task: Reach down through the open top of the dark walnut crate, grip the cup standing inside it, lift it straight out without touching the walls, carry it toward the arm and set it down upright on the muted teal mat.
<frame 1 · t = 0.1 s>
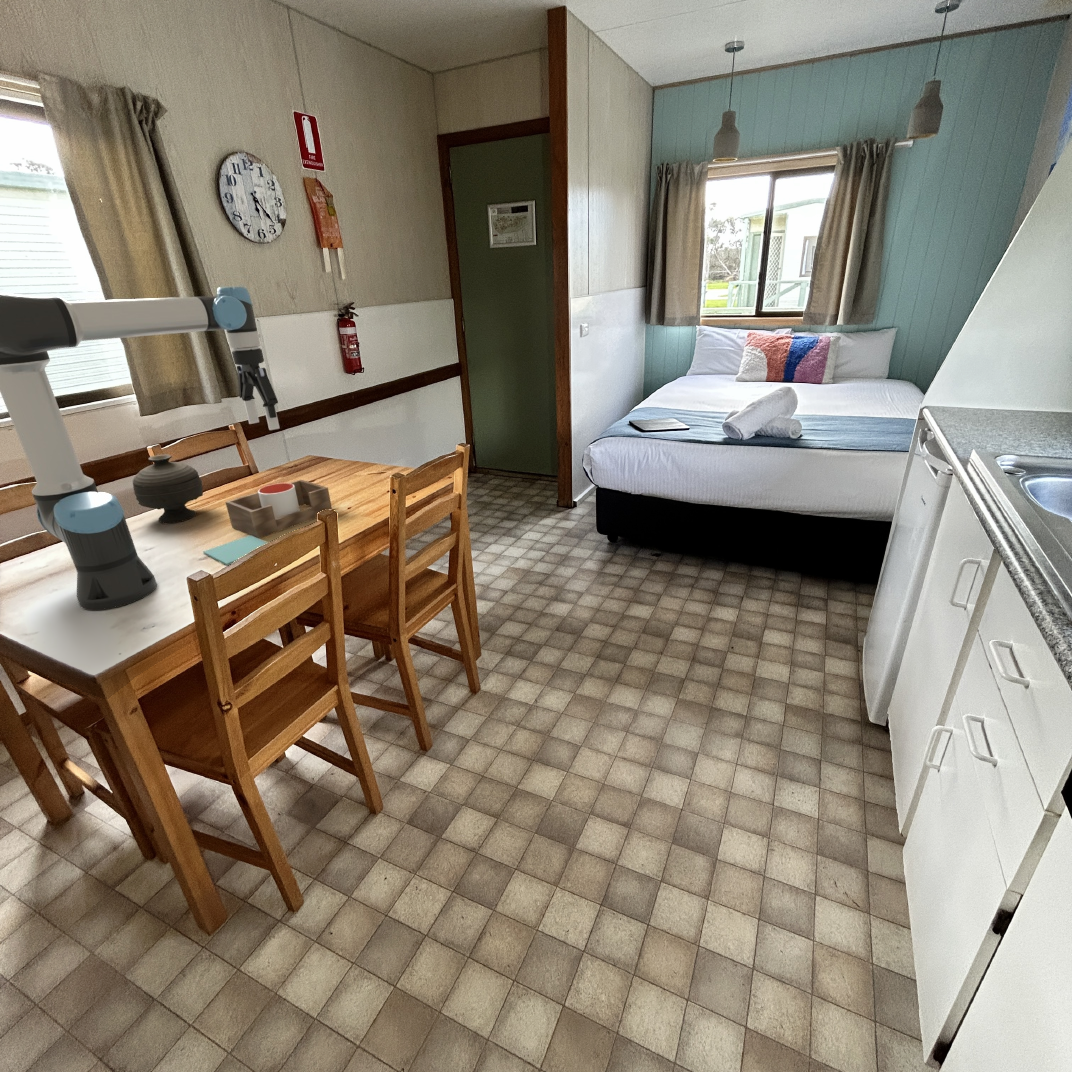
hand: (264, 426, 167), 28 cm above the table, fingers open, 13 cm apart
mat: (239, 550, 156), on the table
cup: (283, 520, 176), resting in crate
pot: (178, 517, 182), on the table
crate: (283, 519, 176), on the table
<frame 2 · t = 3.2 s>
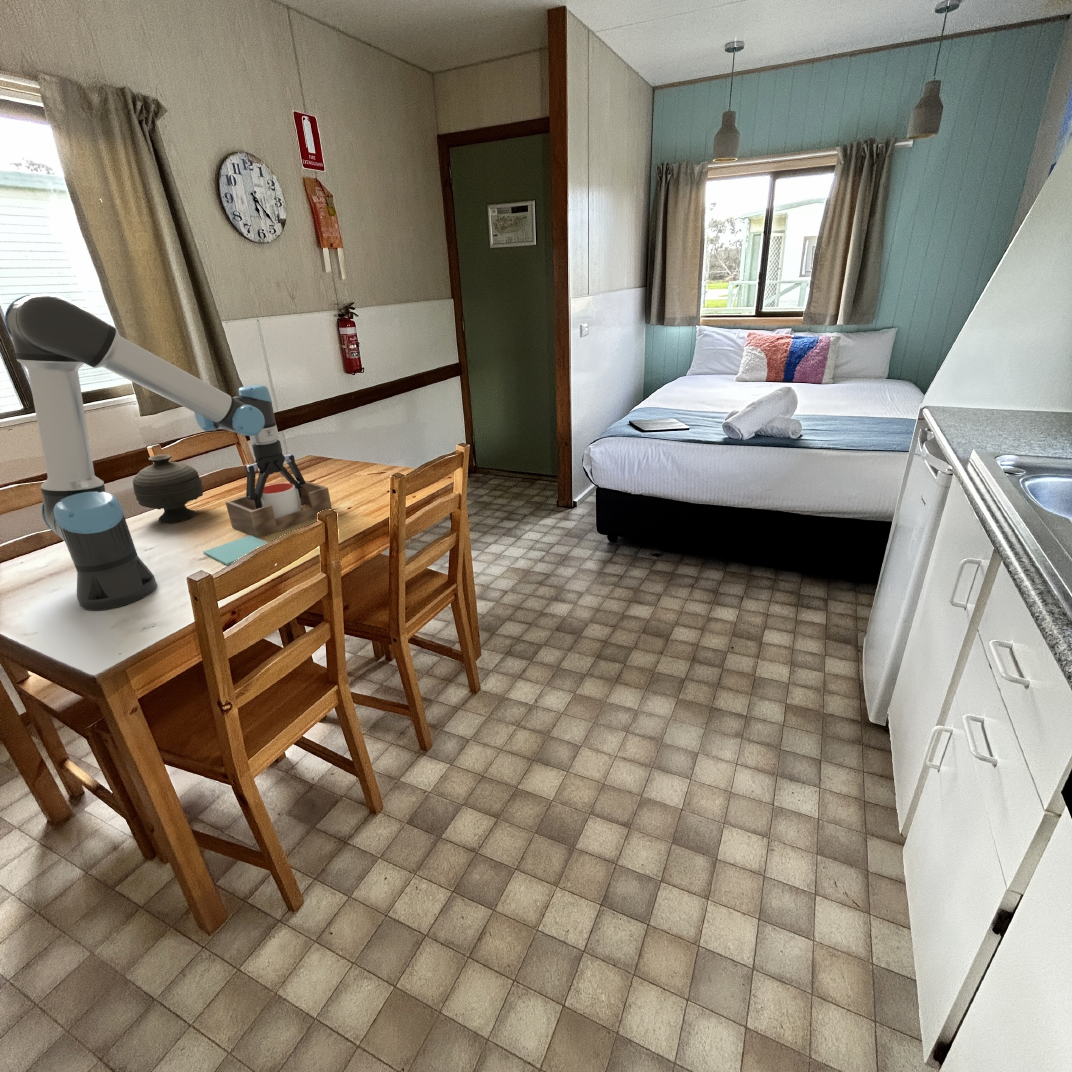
hand: (282, 514, 175), 2 cm above the table, fingers closed on cup, 10 cm apart
cup: (283, 520, 176), resting in crate, touching gripper
everything else where it was.
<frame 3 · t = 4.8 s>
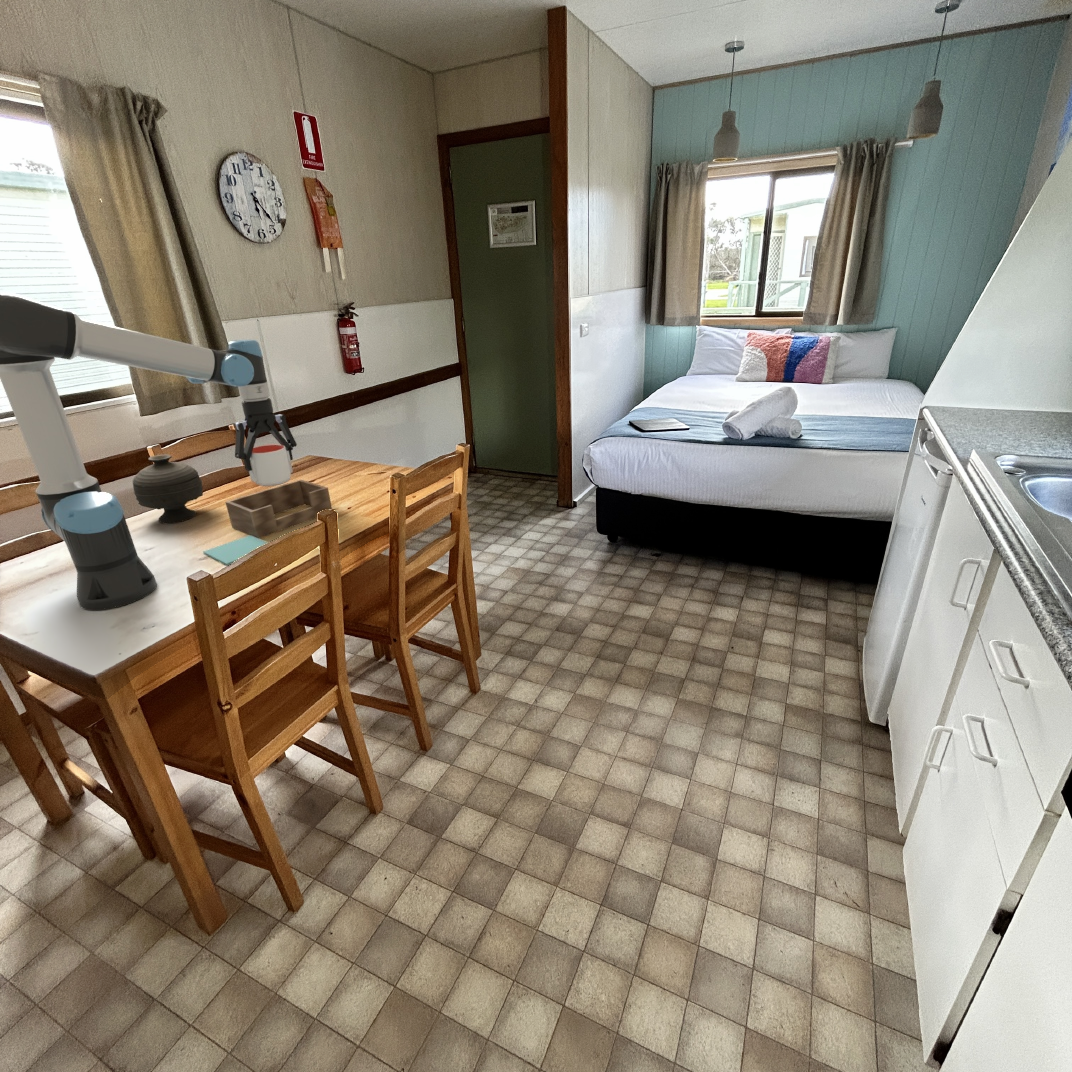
hand: (272, 476, 170), 14 cm above the table, fingers closed on cup, 10 cm apart
cup: (273, 482, 171), point 12 cm above the table, touching gripper
everything else where it was.
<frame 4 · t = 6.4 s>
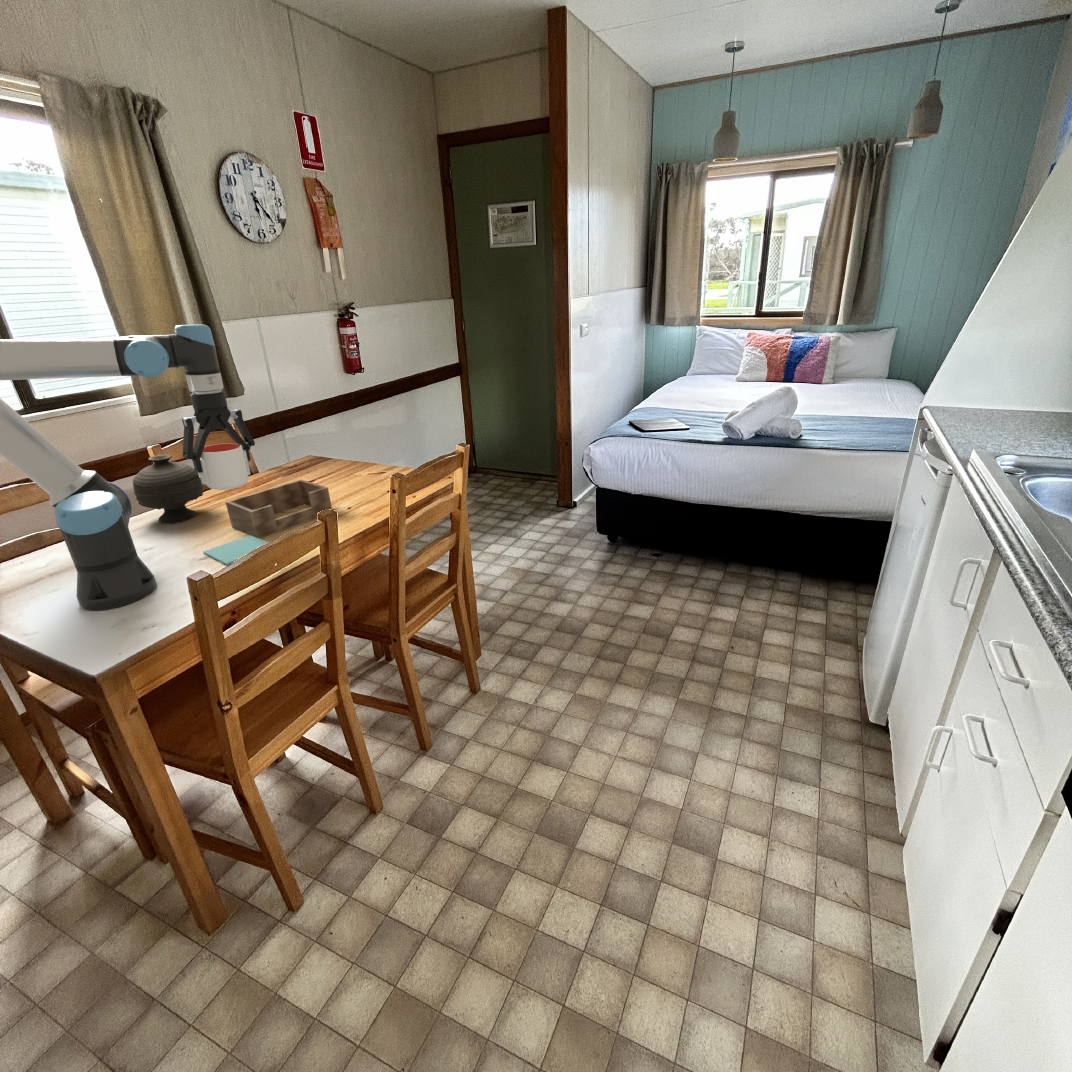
hand: (226, 478, 151), 19 cm above the table, fingers closed on cup, 10 cm apart
cup: (228, 486, 152), point 17 cm above the table, touching gripper
everything else where it was.
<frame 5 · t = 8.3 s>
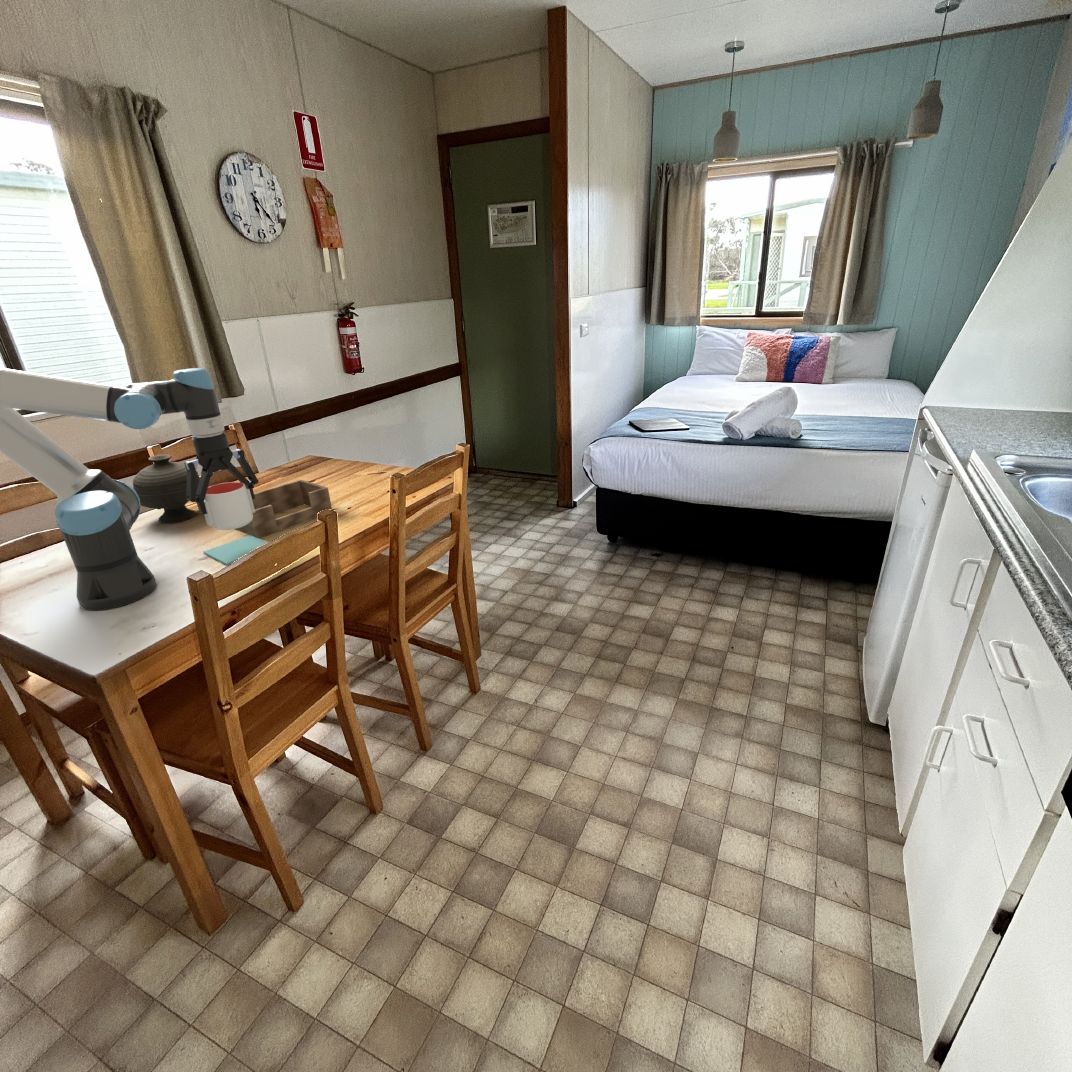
hand: (231, 518, 152), 9 cm above the table, fingers closed on cup, 10 cm apart
cup: (233, 525, 153), point 7 cm above the table, touching gripper
everything else where it was.
when the fingers open (4 cm above the table, at t = 9.7 s): cup drops 1 cm, resting on mat.
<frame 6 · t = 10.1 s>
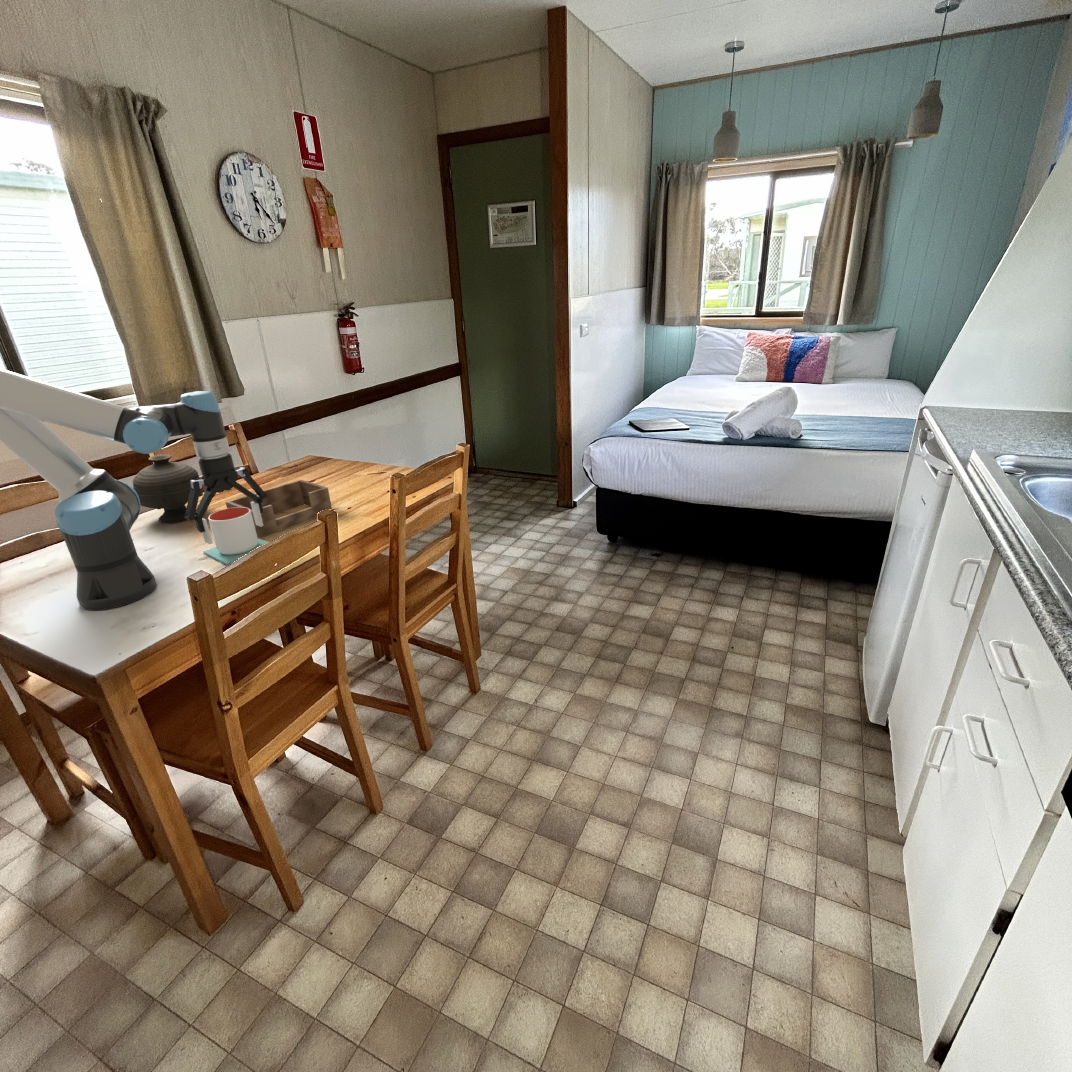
hand: (235, 533, 154), 5 cm above the table, fingers open, 13 cm apart
cup: (239, 549, 156), resting on mat
everything else where it was.
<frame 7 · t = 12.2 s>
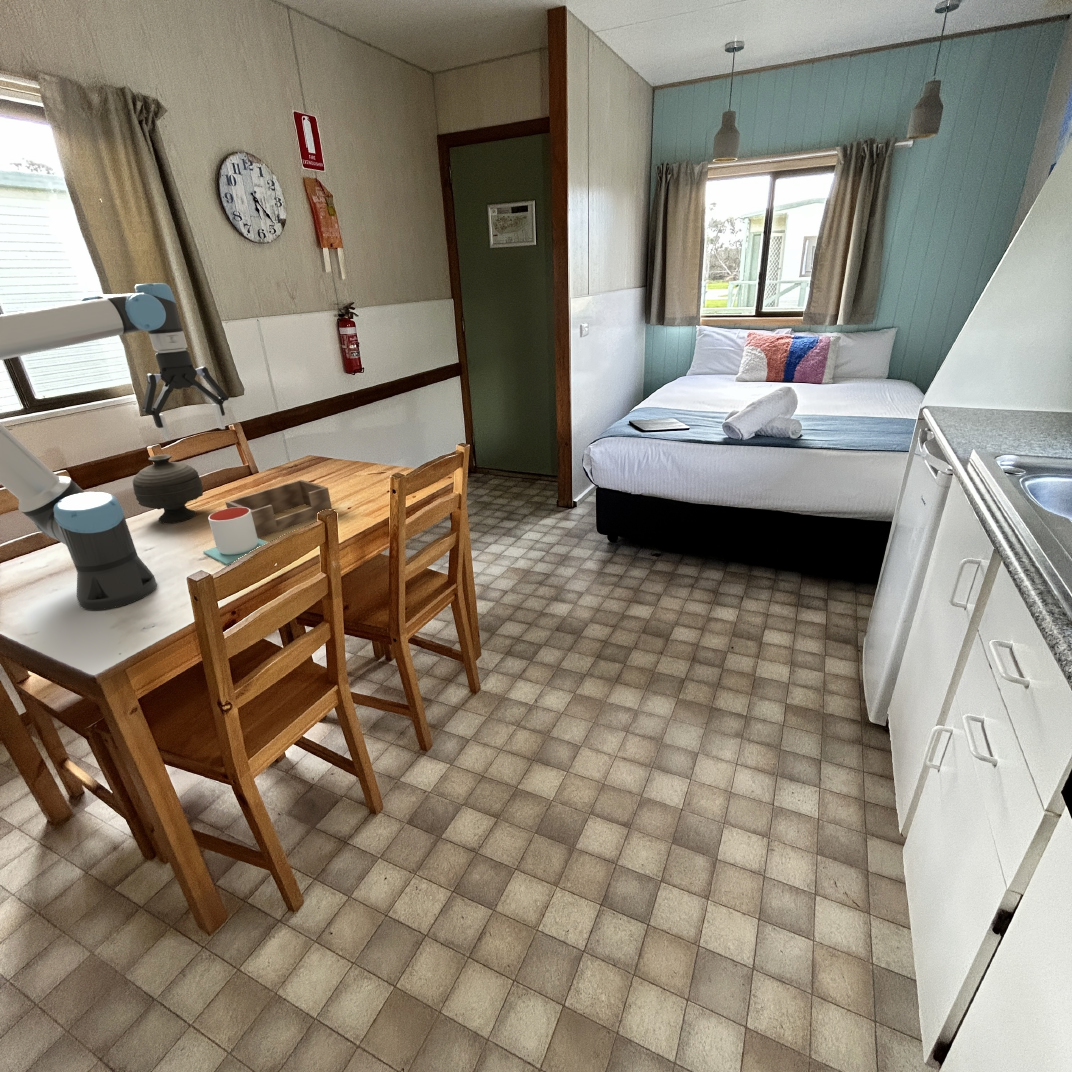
hand: (195, 434, 155), 29 cm above the table, fingers open, 13 cm apart
nothing on the table moved.
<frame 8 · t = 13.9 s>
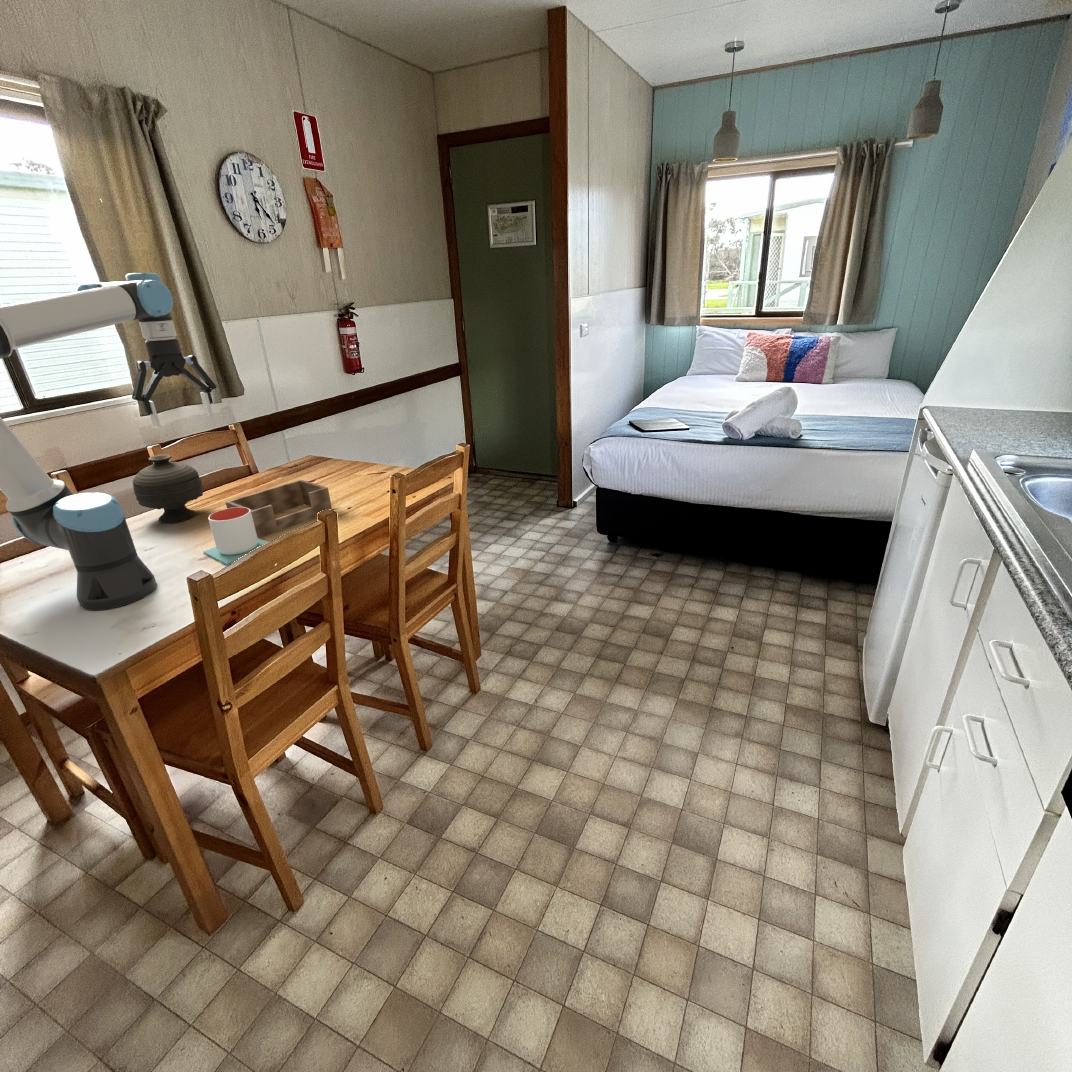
hand: (184, 421, 159), 32 cm above the table, fingers open, 13 cm apart
nothing on the table moved.
at the end: cup inside the target area on the mat (0.1 cm from its centre), point 0.4 cm above the mat's base; cup tilted 0°; cup touching mat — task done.
